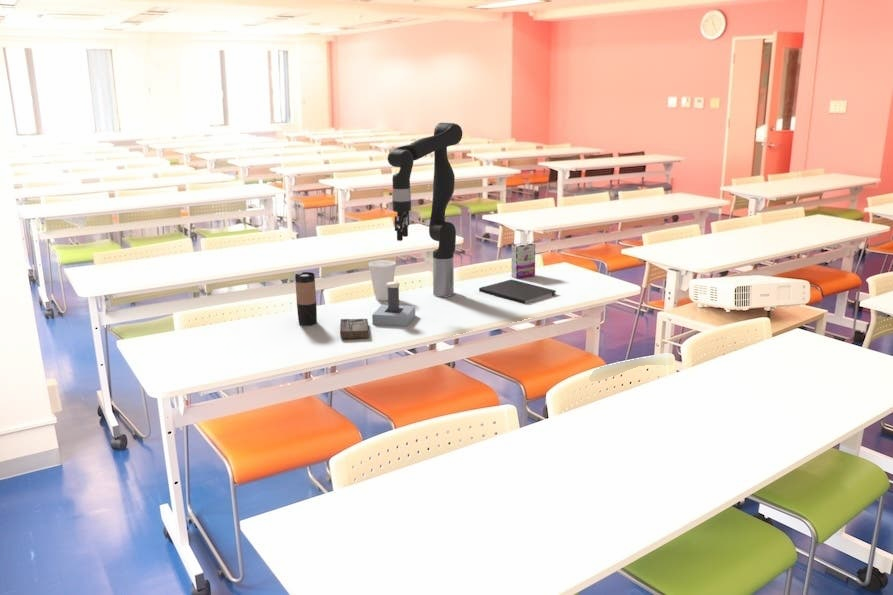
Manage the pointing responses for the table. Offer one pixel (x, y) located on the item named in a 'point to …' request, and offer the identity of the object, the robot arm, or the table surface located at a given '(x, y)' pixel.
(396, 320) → the socket
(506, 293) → the notebook
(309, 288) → the travel mug
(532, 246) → the candy bar box
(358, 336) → the box
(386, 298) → the cup
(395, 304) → the plug
